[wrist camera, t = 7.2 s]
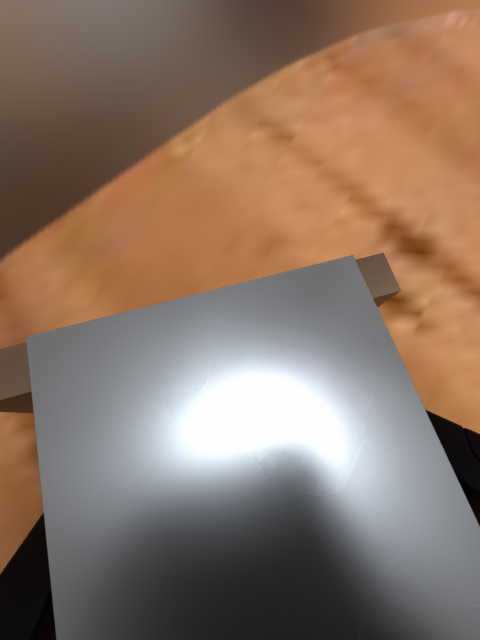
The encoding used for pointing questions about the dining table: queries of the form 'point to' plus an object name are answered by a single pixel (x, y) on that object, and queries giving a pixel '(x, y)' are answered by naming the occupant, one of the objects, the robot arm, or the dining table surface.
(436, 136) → the dining table surface
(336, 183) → the dining table surface
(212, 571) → the grey square pillar
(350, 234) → the dining table surface
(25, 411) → the bench
